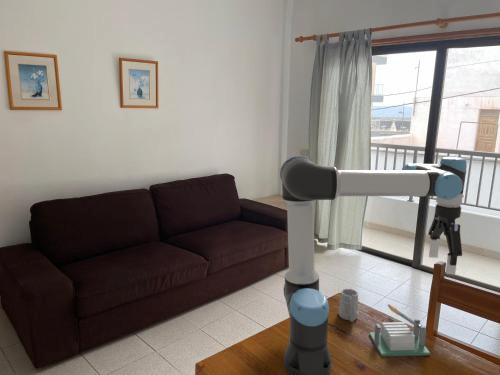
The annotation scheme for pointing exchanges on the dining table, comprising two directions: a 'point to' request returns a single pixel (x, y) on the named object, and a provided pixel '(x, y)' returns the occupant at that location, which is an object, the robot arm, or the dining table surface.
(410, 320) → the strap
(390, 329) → the heatsink board
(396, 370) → the dining table surface
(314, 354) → the robot arm
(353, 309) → the white cup
